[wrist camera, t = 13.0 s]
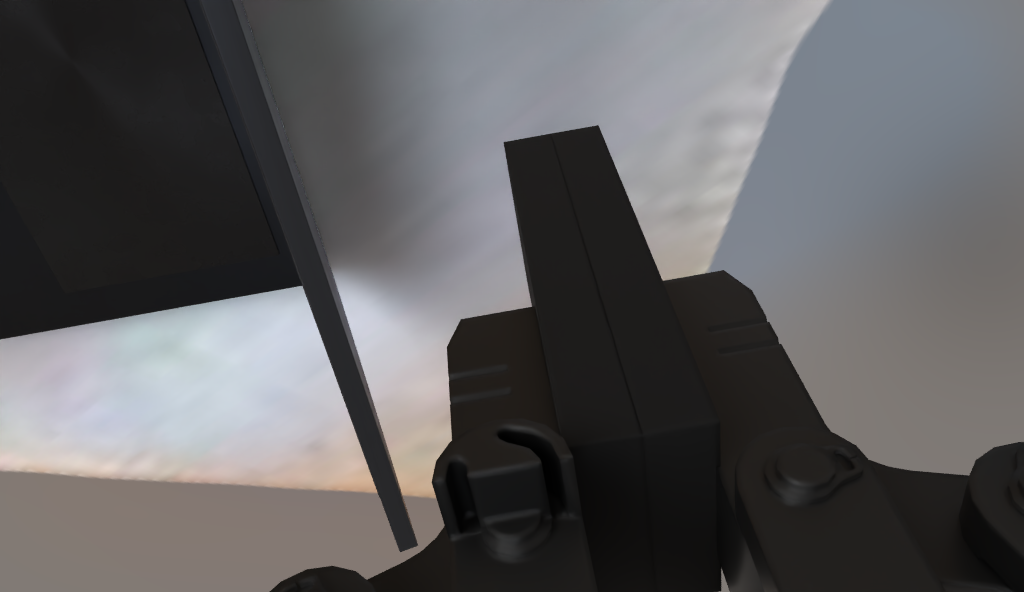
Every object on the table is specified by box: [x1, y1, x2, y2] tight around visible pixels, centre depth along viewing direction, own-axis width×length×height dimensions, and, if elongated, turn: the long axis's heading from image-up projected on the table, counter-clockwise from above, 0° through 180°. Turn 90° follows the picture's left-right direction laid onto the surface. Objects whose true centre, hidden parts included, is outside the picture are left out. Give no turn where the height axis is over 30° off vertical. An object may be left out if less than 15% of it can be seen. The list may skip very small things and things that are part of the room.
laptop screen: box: [199, 0, 418, 552], centre depth 36 cm, size 22×32×1 cm
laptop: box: [0, 0, 302, 339], centre depth 45 cm, size 22×32×2 cm
